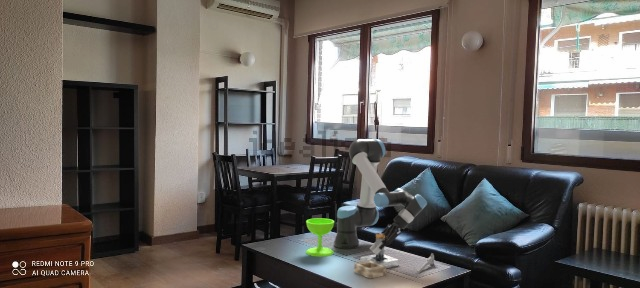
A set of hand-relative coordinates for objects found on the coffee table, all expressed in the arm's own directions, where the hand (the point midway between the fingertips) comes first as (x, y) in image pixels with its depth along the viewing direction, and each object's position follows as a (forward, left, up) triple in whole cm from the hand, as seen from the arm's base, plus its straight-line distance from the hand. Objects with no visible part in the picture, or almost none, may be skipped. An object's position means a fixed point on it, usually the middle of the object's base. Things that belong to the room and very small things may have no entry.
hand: (373, 251), depth 236 cm
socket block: (+1, +4, -7) cm, 8 cm away
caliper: (+19, +18, -7) cm, 28 cm away
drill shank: (+1, +4, -5) cm, 6 cm away
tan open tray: (+10, -10, -7) cm, 16 cm away
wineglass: (-33, -11, -7) cm, 36 cm away
